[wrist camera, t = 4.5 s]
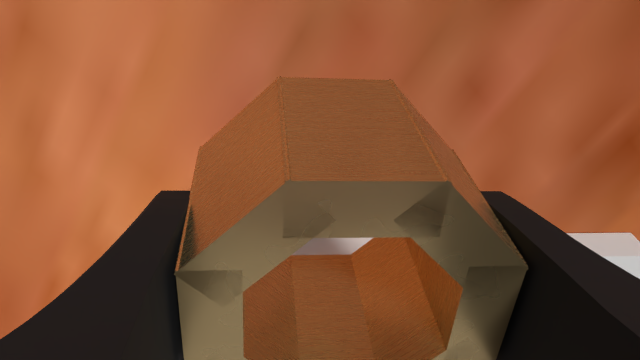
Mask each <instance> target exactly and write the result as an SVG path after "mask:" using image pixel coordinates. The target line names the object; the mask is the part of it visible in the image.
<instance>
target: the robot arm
mask: <svg viewBox="0 0 640 360" xmlns="http://www.w3.org/2000/svg"><path fill="white" fill-rule="evenodd" d="M480 192H481V194H482V195H483V197H484V198H485V200H486V201H487V203H488V204H489V206H490V207H491V209H492V211H493V212H494V214H495V215H496V217H497V218H498V220H499V221H500V223H501V225H502V226H503V228H504V229H505V231H506V232H507V234H508V235H509V237H510V239H511V240H512V242H513V243H514V245H515V246H516V248H517V249H518V251H519V252H520V254H521V256H522V257H523V259H524V260H525V262H526V263H527V265H528V270H527V271H526V273H525V276H524V279H523V282H522V285H521V288H520V291H519V294H518V297H517V300H516V303H515V306H514V309H513V312H512V314H511V317H510V320H509V323H508V326H507V329H506V332H505V335H504V338H503V341H502V344H501V347H500V350H499V352H498V355H497V358H496V360H640V279H639V278H637V277H635V276H634V275H632V274H630V273H629V272H627V271H625V270H624V269H622V268H620V267H619V266H617V265H615V264H614V263H612V262H610V261H608V260H607V259H605V258H604V257H602V256H600V255H599V254H597V253H596V252H594V251H592V250H591V249H589V248H588V247H586V246H585V245H583V244H582V243H580V242H578V241H577V240H575V239H574V238H572V237H571V236H569V235H568V234H566V233H565V232H563V231H562V230H560V229H559V228H557V227H556V226H554V225H553V224H551V223H550V222H548V221H547V220H545V219H544V218H542V217H541V216H540V215H538V214H537V213H535V212H534V211H532V210H531V209H529V208H527V207H526V206H524V205H523V204H521V203H520V202H518V201H517V200H515V199H513V198H512V197H510V196H508V195H506V194H505V193H503V192H501V191H480ZM189 196H190V191H161V192H160V193H158V194H157V195H156V196H155V198H154V199H153V200H152V201H151V202H150V203H149V205H148V206H147V207H146V208H145V209H144V211H143V212H142V213H141V214H140V215H139V216H138V218H137V219H136V220H135V221H134V222H133V223H132V224H131V226H130V227H129V228H128V229H127V230H126V231H125V232H124V233H123V234H122V235H121V236H120V237H119V239H118V240H117V241H116V242H115V243H114V244H113V245H112V246H111V247H110V248H109V249H108V250H107V251H106V252H105V253H104V254H103V255H102V256H101V257H100V258H99V259H98V260H97V261H96V262H95V263H94V264H93V265H92V266H91V267H90V268H89V269H88V270H87V271H86V272H85V273H84V274H82V275H81V276H80V277H79V278H78V279H77V280H76V281H75V282H74V283H73V284H72V285H71V286H70V287H68V288H67V289H66V290H65V291H64V292H63V293H62V294H60V295H59V296H58V297H57V298H56V299H54V300H53V301H52V302H51V303H50V304H48V305H47V306H46V307H45V308H43V309H42V310H41V311H39V312H38V313H37V314H36V315H34V316H33V317H32V318H30V319H29V320H28V321H26V322H25V323H24V324H22V325H21V326H19V327H18V328H16V329H15V330H14V331H12V332H11V333H9V334H8V335H6V336H5V337H3V338H2V339H0V360H184V355H183V344H182V334H181V324H180V314H179V303H178V293H177V283H176V276H175V275H174V271H175V266H176V261H177V256H178V251H179V246H180V241H181V236H182V231H183V226H184V221H185V218H186V214H187V209H188V204H189V199H190V198H189Z"/></svg>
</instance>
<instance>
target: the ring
mask: <svg viewBox="0 0 640 360" xmlns="http://www.w3.org/2000/svg"><path fill="white" fill-rule="evenodd" d="M189 198H190V199H189V204H188V209H187V214H186V218H185V221H184V226H183V231H182V236H181V241H180V246H179V251H178V256H177V261H176V266H175V271H174V275H175V276H176V283H177V293H178V303H179V314H180V324H181V334H182V344H183V355H184V360H496V358H497V355H498V352H499V350H500V347H501V344H502V341H503V338H504V335H505V332H506V329H507V326H508V323H509V320H510V317H511V314H512V312H513V309H514V306H515V303H516V300H517V297H518V294H519V291H520V288H521V285H522V282H523V279H524V276H525V273H526V271H527V270H528V265H527V263H526V262H525V260H524V259H523V257H522V256H521V254H520V252H519V251H518V249H517V248H516V246H515V245H514V243H513V242H512V240H511V239H510V237H509V235H508V234H507V232H506V231H505V229H504V228H503V226H502V225H501V223H500V221H499V220H498V218H497V217H496V215H495V214H494V212H493V211H492V209H491V207H490V206H489V204H488V203H487V201H486V200H485V198H484V197H483V195H482V194H481V192H480V190H479V189H478V187H477V186H476V184H475V183H474V181H473V180H472V178H471V176H470V175H469V173H468V172H467V170H466V169H465V167H464V166H463V164H462V162H461V161H460V159H459V158H458V156H457V155H456V153H455V152H454V150H453V149H451V148H450V147H449V146H448V145H447V144H446V143H445V142H444V140H443V139H442V138H441V137H440V136H439V135H438V133H437V132H436V131H435V130H434V129H433V128H432V127H431V125H430V124H429V123H428V122H427V121H426V120H425V118H424V117H423V116H422V115H421V114H420V113H419V112H418V110H417V109H416V108H415V107H414V106H413V105H412V103H411V102H410V101H409V100H408V99H407V98H406V97H405V95H404V94H403V93H402V92H401V91H400V90H399V89H398V87H397V86H396V84H395V82H394V81H393V80H391V79H389V80H366V79H328V78H290V77H281V76H280V77H277V79H276V80H275V81H274V82H273V83H272V84H271V85H270V86H269V87H267V88H266V89H265V90H264V91H263V92H262V93H261V94H260V95H259V96H257V97H256V98H255V99H254V100H253V101H252V102H251V103H250V104H249V105H247V106H246V107H245V108H244V109H243V110H242V111H241V112H240V113H239V114H237V115H236V116H235V117H234V118H233V119H232V120H231V121H230V122H229V123H227V124H226V125H225V126H224V127H223V128H222V129H221V130H220V131H219V132H218V133H216V134H215V135H214V136H213V137H212V138H211V139H210V140H209V141H208V142H206V143H205V144H204V145H203V146H202V147H201V146H200V149H199V151H198V156H197V161H196V166H195V171H194V176H193V181H192V186H191V191H190V196H189ZM313 238H372V239H371V240H370V241H368V242H367V243H366V244H364V245H363V246H362V247H360V248H359V249H358V250H356V251H355V252H353V253H352V254H350V255H292V254H293V253H294V252H296V251H297V250H298V249H300V248H301V247H302V246H304V245H305V244H306V243H308V242H309V241H310V240H311V239H313Z"/></svg>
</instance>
